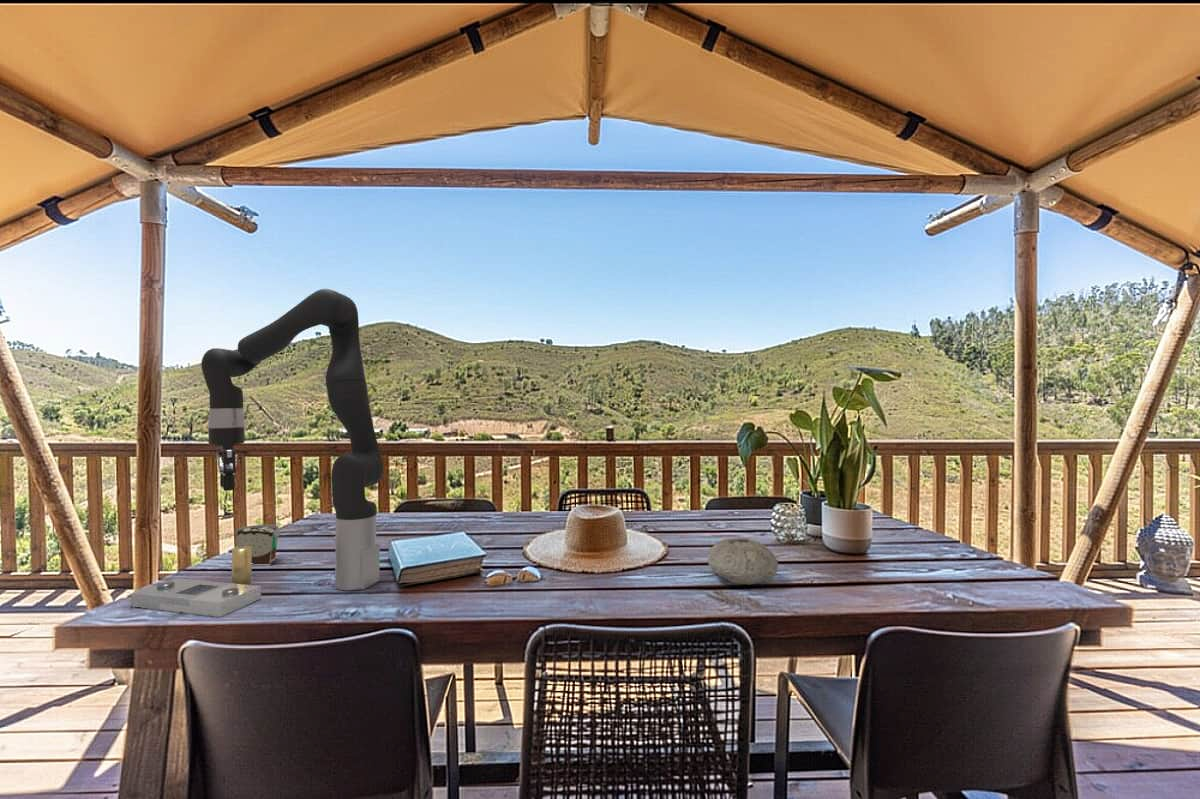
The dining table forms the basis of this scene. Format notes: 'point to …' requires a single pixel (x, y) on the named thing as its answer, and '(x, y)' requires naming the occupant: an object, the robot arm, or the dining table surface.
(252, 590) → the studded base plate
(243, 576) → the brass pin
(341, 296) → the robot arm
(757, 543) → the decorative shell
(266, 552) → the food container
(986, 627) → the dining table surface
